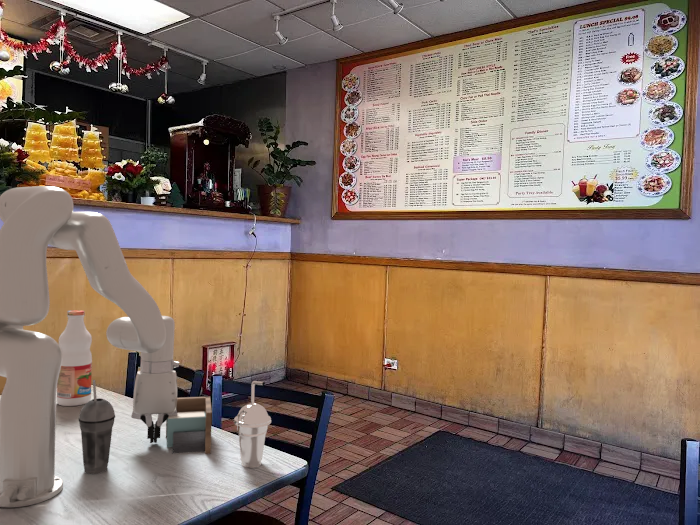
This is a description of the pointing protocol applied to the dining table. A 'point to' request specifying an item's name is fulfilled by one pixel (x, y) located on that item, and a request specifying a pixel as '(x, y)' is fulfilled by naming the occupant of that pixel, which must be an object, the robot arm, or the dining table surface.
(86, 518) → the dining table surface
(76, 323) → the fruit juice
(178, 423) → the pale teal block
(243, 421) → the cup with straw
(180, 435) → the dark grey rectangular block
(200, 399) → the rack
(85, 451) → the beverage cup
